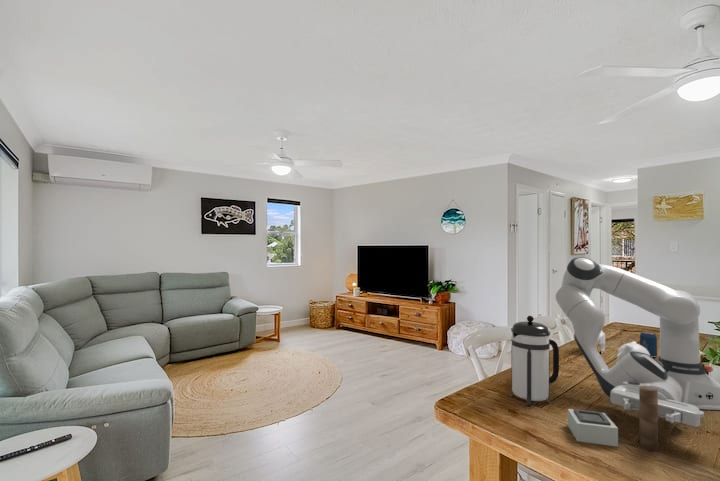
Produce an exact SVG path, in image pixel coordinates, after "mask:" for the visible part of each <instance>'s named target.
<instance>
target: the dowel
mask: <svg viewBox="0 0 720 481" xmlns="http://www.w3.org/2000/svg"><path fill="white" fill-rule="evenodd" d="M638 413H639V417H638V418H639V420H638V421H639V447H640V448H641V449H643V450H645V451H649V452H652V453H653V452H658V451H659V417H658V390H657V389H655V388H652V387H648V386H640V387H639V411H638Z"/></svg>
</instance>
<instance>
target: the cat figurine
mask: <svg viewBox="0 0 720 481" xmlns="http://www.w3.org/2000/svg"><path fill="white" fill-rule="evenodd" d="M597 344H599V345H600V350H602V351H604V350H605V349H606V347H605V346H606V333H605V332H604V331H603V330H602V331H601V333H600V335H599V337H598V340H597ZM605 351H606V350H605ZM605 351H604V352H605Z"/></svg>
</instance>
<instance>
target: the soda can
mask: <svg viewBox="0 0 720 481" xmlns="http://www.w3.org/2000/svg"><path fill="white" fill-rule="evenodd" d="M639 345H641V346H643V347H644V348H646V349H647V351H648V352H649V354H650V356H656V357H657V356H658V337H657V334H656V333H655V332H652V331H641V332H640V334H639Z"/></svg>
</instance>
